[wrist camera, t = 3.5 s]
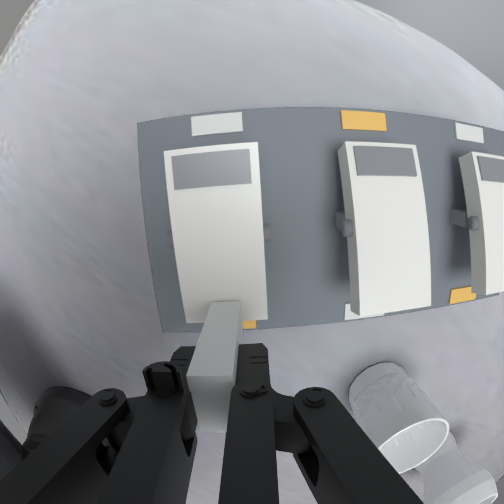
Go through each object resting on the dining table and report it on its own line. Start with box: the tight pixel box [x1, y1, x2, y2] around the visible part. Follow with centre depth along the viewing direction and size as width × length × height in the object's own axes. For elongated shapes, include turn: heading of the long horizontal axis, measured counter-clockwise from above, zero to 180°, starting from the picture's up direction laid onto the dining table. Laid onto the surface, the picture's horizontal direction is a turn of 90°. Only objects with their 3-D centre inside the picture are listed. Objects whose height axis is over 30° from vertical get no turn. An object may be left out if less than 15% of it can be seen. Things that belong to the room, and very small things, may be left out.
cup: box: [415, 432, 498, 504], centre depth 25 cm, size 11×11×15 cm
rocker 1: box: [164, 142, 272, 323], centre depth 15 cm, size 5×9×2 cm, turn 4°
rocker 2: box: [338, 141, 431, 316], centre depth 15 cm, size 5×9×2 cm, turn 4°
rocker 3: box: [459, 151, 504, 295], centre depth 15 cm, size 5×9×2 cm, turn 4°
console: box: [137, 107, 504, 332], centre depth 20 cm, size 28×14×8 cm, turn 94°
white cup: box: [349, 362, 449, 474], centre depth 24 cm, size 8×8×10 cm
